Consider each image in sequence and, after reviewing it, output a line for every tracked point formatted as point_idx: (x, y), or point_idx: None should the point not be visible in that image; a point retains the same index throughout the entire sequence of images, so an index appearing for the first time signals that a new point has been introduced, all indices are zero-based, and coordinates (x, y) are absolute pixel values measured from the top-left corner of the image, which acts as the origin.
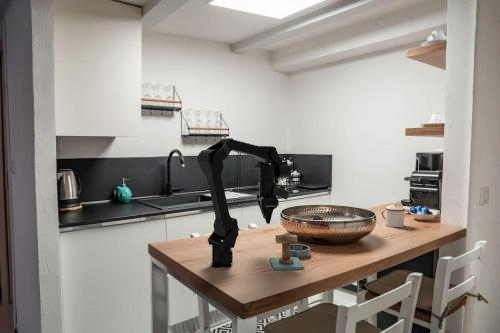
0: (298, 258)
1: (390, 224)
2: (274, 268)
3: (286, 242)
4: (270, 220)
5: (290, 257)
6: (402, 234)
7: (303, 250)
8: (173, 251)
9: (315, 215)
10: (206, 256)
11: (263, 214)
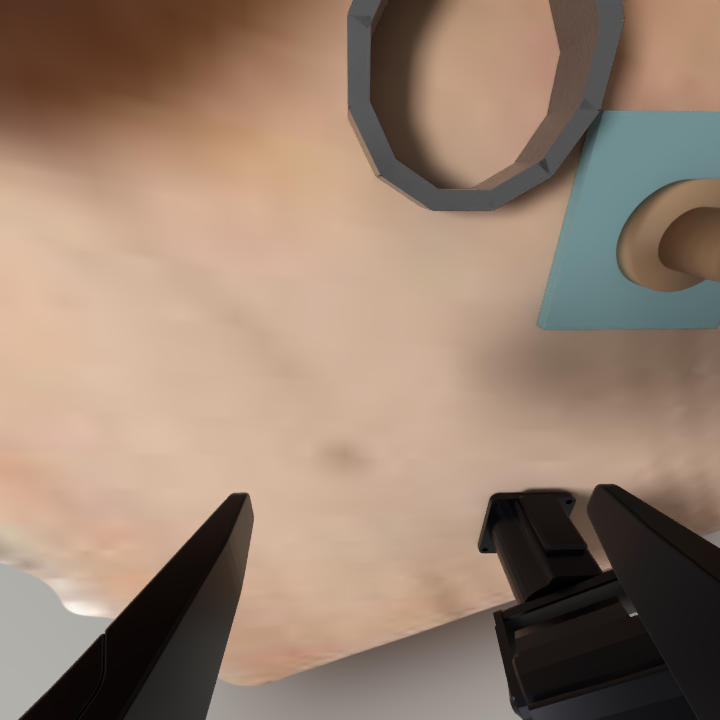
0: (637, 111)
1: None
2: (713, 323)
3: None
4: (669, 518)
5: (682, 199)
6: None
7: (601, 7)
8: (333, 640)
9: None
10: (408, 563)
11: (695, 701)
